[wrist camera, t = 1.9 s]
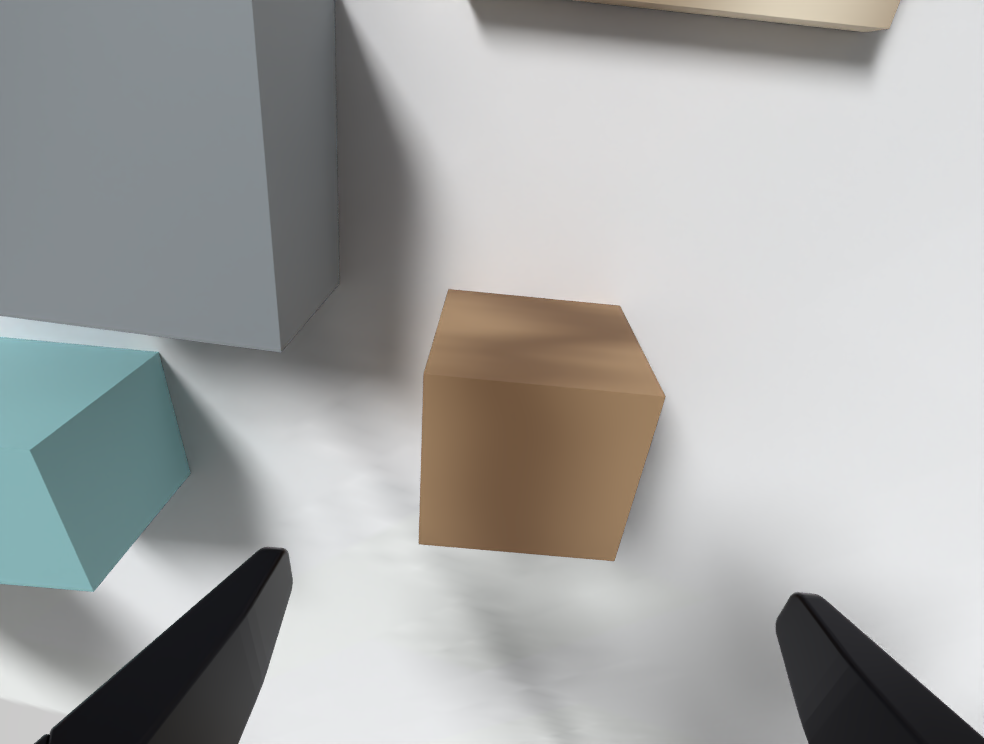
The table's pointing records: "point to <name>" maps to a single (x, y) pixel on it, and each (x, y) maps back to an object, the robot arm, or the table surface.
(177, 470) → the teal cube
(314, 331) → the table surface
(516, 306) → the walnut cube
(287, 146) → the grey block
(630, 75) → the table surface
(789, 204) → the table surface
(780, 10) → the plaque
